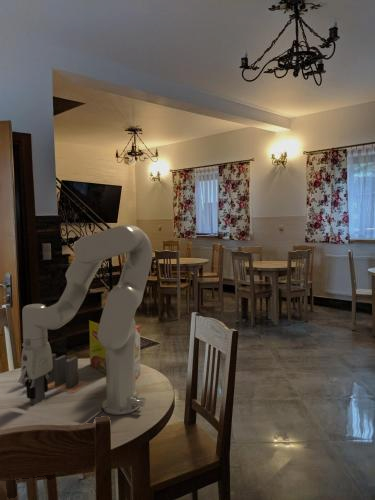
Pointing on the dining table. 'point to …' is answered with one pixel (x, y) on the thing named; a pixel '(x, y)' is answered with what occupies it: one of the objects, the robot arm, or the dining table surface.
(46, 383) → the robot arm
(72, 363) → the domino
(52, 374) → the domino
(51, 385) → the domino board
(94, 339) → the food package
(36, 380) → the domino
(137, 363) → the cracker box
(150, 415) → the dining table surface
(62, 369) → the domino
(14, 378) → the dining table surface
